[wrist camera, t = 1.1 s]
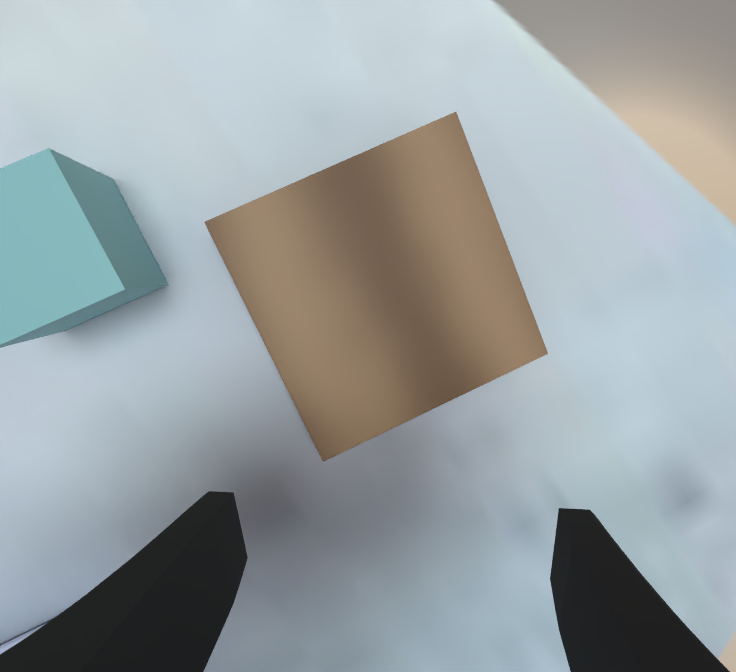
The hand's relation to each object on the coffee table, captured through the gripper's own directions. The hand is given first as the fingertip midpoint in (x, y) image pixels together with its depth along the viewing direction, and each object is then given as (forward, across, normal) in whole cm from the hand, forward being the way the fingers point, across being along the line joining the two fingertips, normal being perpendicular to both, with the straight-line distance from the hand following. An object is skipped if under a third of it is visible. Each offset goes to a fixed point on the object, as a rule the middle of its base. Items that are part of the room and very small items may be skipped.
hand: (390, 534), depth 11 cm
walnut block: (+12, +2, -2) cm, 12 cm away
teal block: (+9, +13, -4) cm, 16 cm away
